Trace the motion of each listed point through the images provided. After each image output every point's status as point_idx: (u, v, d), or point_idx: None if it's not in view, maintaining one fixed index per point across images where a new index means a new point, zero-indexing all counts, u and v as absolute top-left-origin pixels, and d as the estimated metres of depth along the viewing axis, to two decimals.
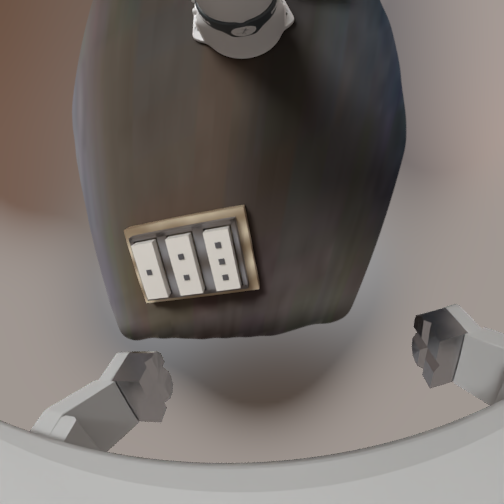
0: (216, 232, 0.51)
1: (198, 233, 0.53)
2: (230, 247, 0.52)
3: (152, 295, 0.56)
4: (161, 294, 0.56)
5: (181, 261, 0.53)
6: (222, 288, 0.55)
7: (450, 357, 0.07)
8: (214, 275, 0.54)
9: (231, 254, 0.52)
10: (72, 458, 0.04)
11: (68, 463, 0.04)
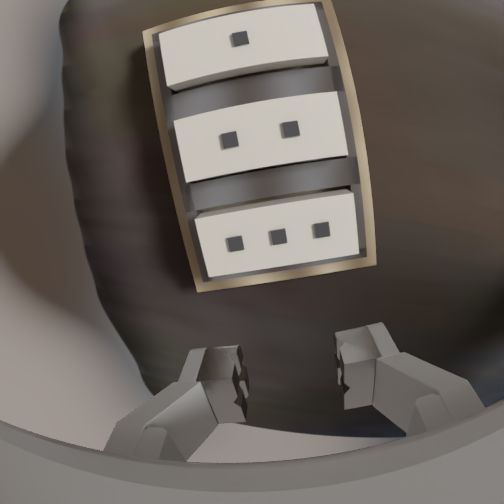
0: (351, 226, 0.20)
1: (341, 172, 0.21)
2: (314, 258, 0.21)
3: (170, 44, 0.17)
4: (174, 68, 0.17)
5: (275, 127, 0.19)
6: (204, 234, 0.21)
7: (362, 380, 0.07)
8: (239, 215, 0.21)
9: (296, 259, 0.21)
10: (72, 458, 0.04)
11: (68, 463, 0.04)
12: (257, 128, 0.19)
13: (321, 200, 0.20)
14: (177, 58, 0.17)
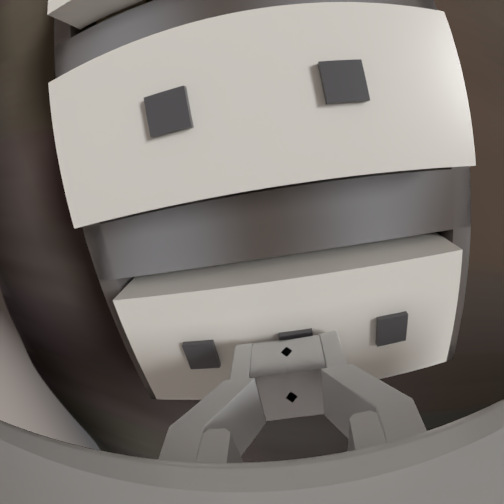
0: (446, 317, 0.08)
1: (439, 202, 0.08)
2: None
3: None
4: None
5: (299, 75, 0.06)
6: (136, 331, 0.09)
7: (310, 390, 0.07)
8: (205, 300, 0.09)
9: None
10: (72, 458, 0.04)
11: (68, 463, 0.04)
12: (246, 77, 0.06)
13: (399, 267, 0.08)
14: None
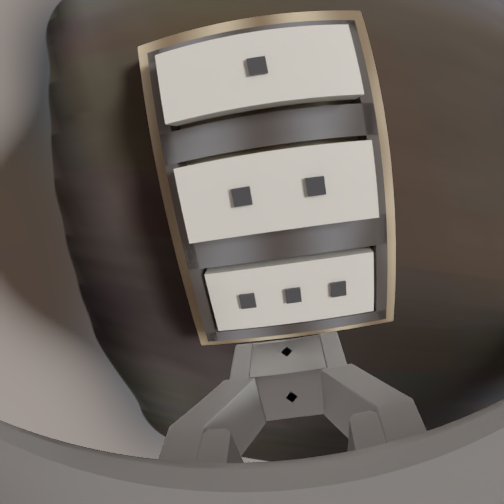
0: (368, 285, 0.19)
1: (367, 231, 0.18)
2: (328, 315, 0.20)
3: (169, 70, 0.14)
4: (174, 101, 0.15)
5: (297, 183, 0.16)
6: (214, 290, 0.20)
7: (310, 390, 0.07)
8: (252, 273, 0.19)
9: (310, 317, 0.20)
10: (72, 458, 0.04)
11: (68, 463, 0.04)
12: (275, 183, 0.16)
13: (339, 259, 0.19)
14: (177, 88, 0.15)
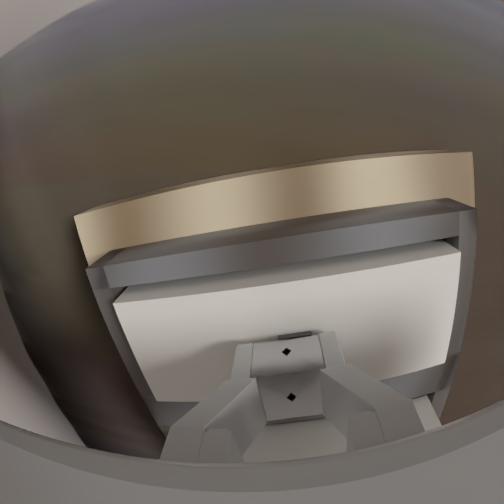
0: None
1: None
2: None
3: (144, 335, 0.09)
4: (163, 379, 0.10)
5: None
6: None
7: (308, 390, 0.07)
8: None
9: None
10: (72, 458, 0.04)
11: (68, 463, 0.04)
12: None
13: None
14: (165, 365, 0.10)
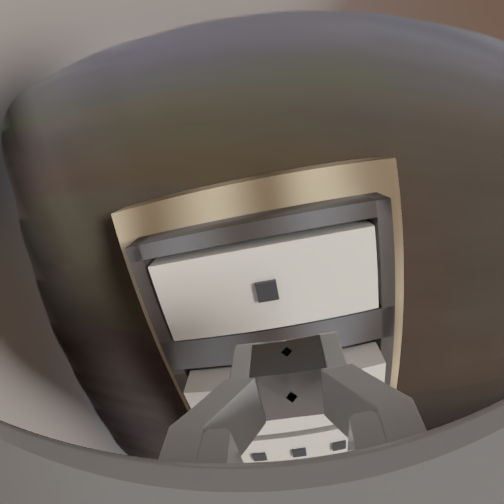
0: None
1: None
2: None
3: (168, 288, 0.15)
4: (179, 321, 0.15)
5: None
6: None
7: (310, 390, 0.07)
8: (263, 442, 0.19)
9: None
10: (72, 458, 0.04)
11: (68, 463, 0.04)
12: None
13: None
14: (181, 309, 0.15)
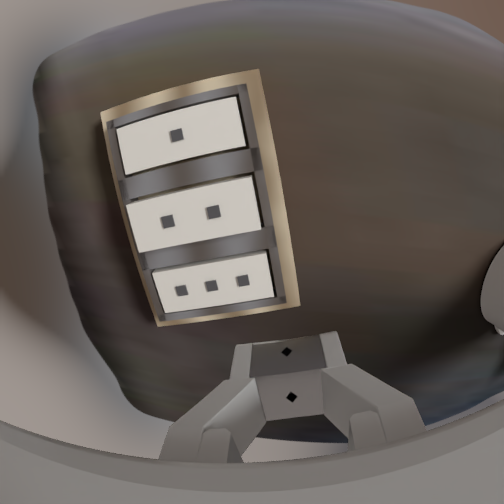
0: (266, 277, 0.28)
1: (260, 239, 0.27)
2: (239, 300, 0.29)
3: (126, 139, 0.24)
4: (130, 160, 0.25)
5: (202, 211, 0.25)
6: (159, 283, 0.29)
7: (310, 390, 0.07)
8: (182, 271, 0.28)
9: (226, 301, 0.29)
10: (72, 458, 0.04)
11: (68, 463, 0.04)
12: (188, 212, 0.25)
13: (241, 259, 0.28)
14: (131, 152, 0.25)
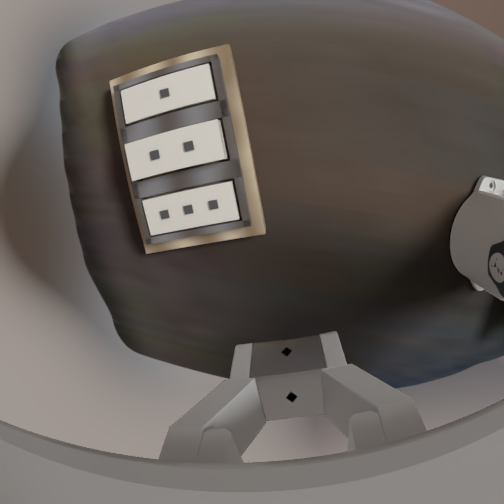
0: (232, 202, 0.34)
1: (227, 170, 0.33)
2: (210, 222, 0.35)
3: (127, 98, 0.30)
4: (129, 113, 0.31)
5: (180, 145, 0.31)
6: (147, 209, 0.35)
7: (309, 390, 0.07)
8: (165, 197, 0.34)
9: (200, 223, 0.35)
10: (72, 458, 0.04)
11: (68, 463, 0.04)
12: (170, 147, 0.31)
13: (212, 186, 0.33)
14: (131, 106, 0.31)
